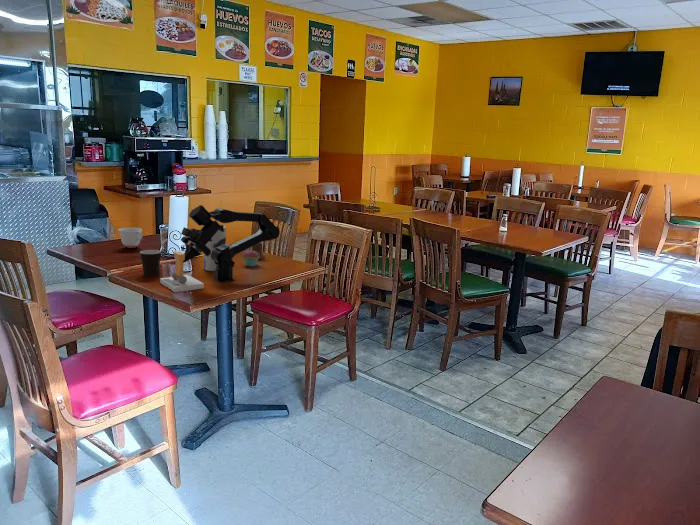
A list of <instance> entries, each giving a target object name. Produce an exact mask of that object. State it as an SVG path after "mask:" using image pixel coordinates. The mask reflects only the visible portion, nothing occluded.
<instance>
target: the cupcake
mask: <svg viewBox="0 0 700 525" xmlns="http://www.w3.org/2000/svg"><path fill="white" fill-rule="evenodd" d="M241 258H242V259H243V260H244V262H245V265H246V266H247V267H255V266H257V263H258V261H259V259H261V258H260V255H259V253H258V252H256V251H252V247H251V251H250V250H249V251H247V250H245V252H244V251H243V253H242V255H241Z"/></svg>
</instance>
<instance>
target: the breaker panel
mask: <svg viewBox="0 0 700 525" xmlns="http://www.w3.org/2000/svg"><path fill="white" fill-rule="evenodd" d="M175 275H176V271H174V272H173V273H172V274H171V276H169V277H160V278H159V280H160V284H161V285H163V286H164V287H166V288H167V287H168V288H167V289H169V290H170V289H171V290H170V291H173V292H174V293H181V292H188V291H194V290H201V289H204V288H205V287H204V286H205V285H204V284H205V283H204V282H202V281H200V280H198V279H196V278H194V277H192V276H191V275H189V274H183V276H180V277H179V280H178V279H177V278H176V277H175ZM180 291H181V292H180Z"/></svg>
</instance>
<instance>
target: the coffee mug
mask: <svg viewBox="0 0 700 525" xmlns="http://www.w3.org/2000/svg"><path fill="white" fill-rule="evenodd" d="M139 255H140V261H141V267H142V271H143V276H145V275H149V276H148V277H154V276H153V275H156V276H158V274H159V275H160V269H161V268H160V267H161V260H162V259H161V257H162V251H161V250H159V249H157V250H156V249H148V250H141V251H139Z"/></svg>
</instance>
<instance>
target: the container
mask: <svg viewBox="0 0 700 525" xmlns="http://www.w3.org/2000/svg"><path fill="white" fill-rule="evenodd" d="M223 226H224V227H223V228H224V232H222V231H219V230H218V231H217V232H216V234H215V235H214V236H213V237H212V238H211V239H212V241H211V242H210V241H209V242H208V243H207V244H206V246H207V247H208V248H209V249H210V250H211V253H212V251H213V250H214V249H215V247H218V246H220V245H222V244H224V245H227V226H226V225H223ZM216 266H218V265H216V264H215V262H214V261H213V260H212V259H211V254H210V255H209V256H208V257H207V256H205V255H204V254H203V269H204V270H205V271H209V272H215V269H216Z"/></svg>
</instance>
